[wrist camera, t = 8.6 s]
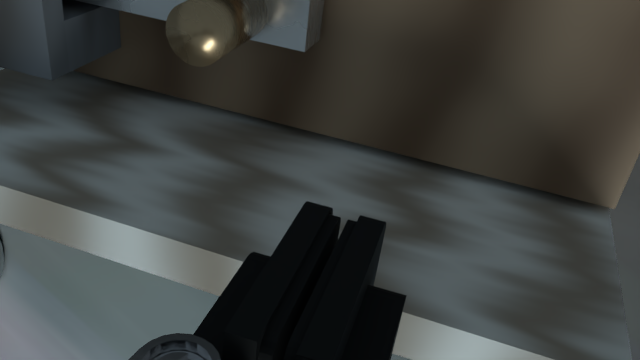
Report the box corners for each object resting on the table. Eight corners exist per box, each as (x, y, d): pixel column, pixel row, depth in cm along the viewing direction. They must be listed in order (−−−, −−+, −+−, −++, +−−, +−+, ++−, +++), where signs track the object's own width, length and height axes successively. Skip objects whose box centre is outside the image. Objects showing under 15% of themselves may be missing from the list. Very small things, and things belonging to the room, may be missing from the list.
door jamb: (45, 85, 37) (-144, 175, 27) (7, -194, 29) (-275, -212, 19) (592, 230, 30) (612, 426, 20) (729, -88, 22) (873, -30, 12)
